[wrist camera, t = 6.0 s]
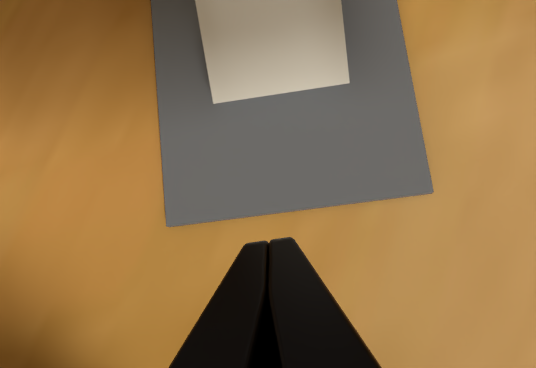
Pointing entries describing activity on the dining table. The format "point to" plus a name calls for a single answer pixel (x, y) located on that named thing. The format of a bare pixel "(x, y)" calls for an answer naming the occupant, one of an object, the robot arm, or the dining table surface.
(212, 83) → the domino
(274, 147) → the mat
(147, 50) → the dining table surface
